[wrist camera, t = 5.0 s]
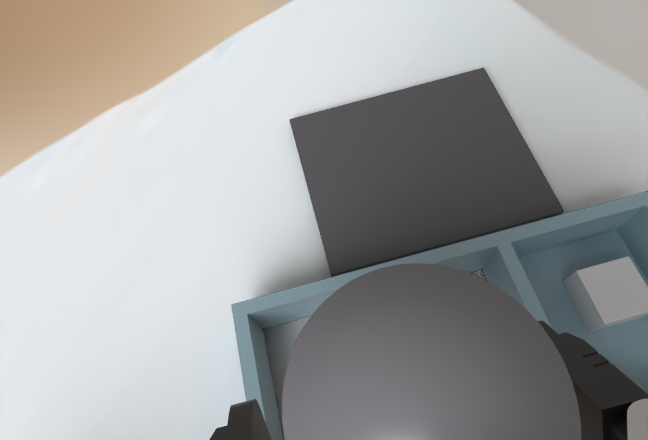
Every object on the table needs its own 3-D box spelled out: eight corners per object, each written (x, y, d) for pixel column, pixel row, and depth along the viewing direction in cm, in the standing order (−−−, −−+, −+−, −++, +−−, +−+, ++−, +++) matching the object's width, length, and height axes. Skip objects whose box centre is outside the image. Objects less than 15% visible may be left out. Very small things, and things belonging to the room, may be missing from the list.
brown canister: (429, 347, 20) (503, 235, 9) (472, 468, 18) (645, 532, 7) (325, 376, 20) (258, 301, 9) (354, 501, 18) (318, 624, 6)
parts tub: (617, 219, 22) (651, 190, 19) (786, 492, 17) (864, 504, 14) (249, 320, 22) (231, 304, 19) (302, 631, 17) (288, 669, 14)
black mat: (481, 73, 27) (483, 67, 27) (560, 215, 23) (564, 210, 22) (291, 124, 27) (289, 119, 26) (332, 277, 22) (331, 274, 22)
